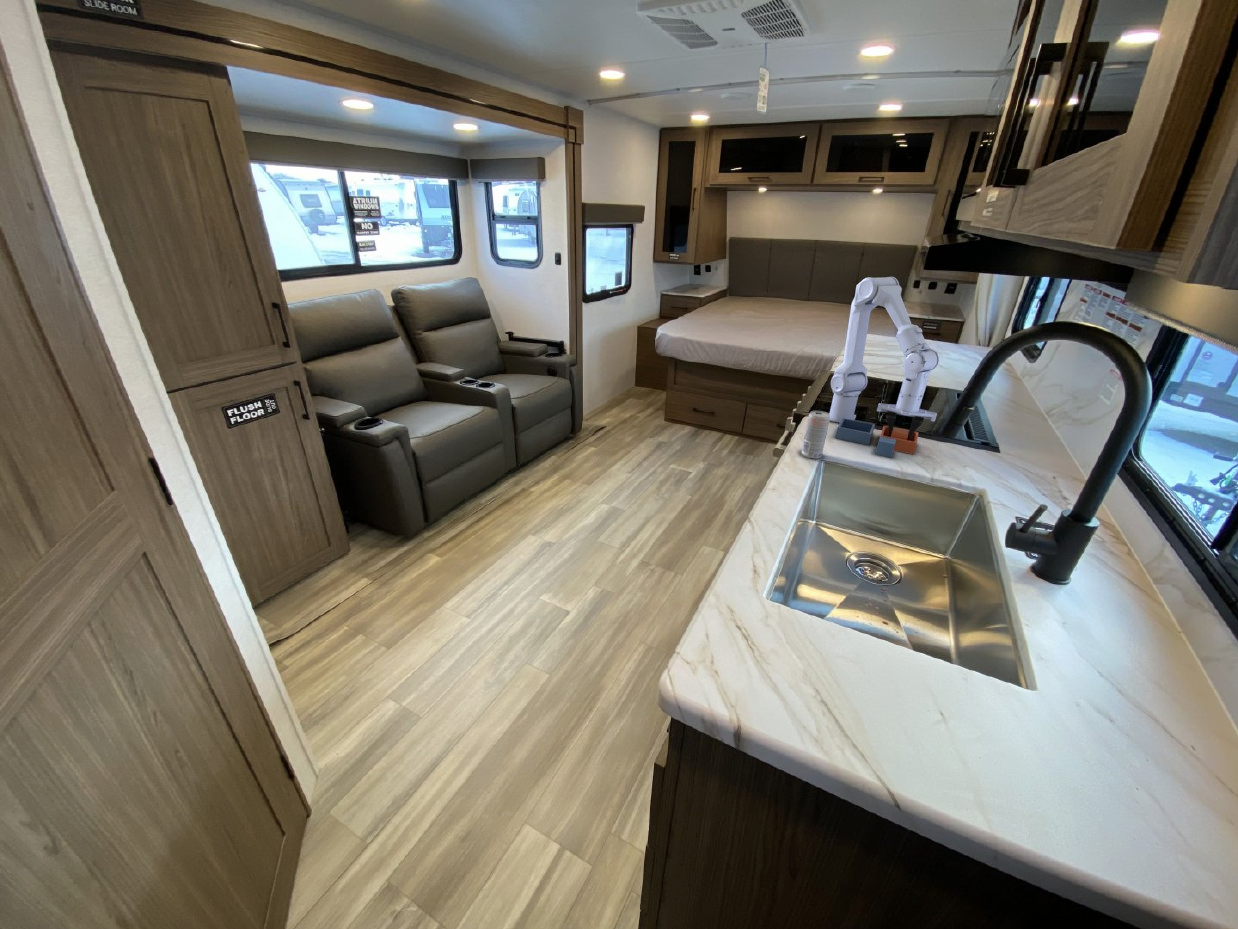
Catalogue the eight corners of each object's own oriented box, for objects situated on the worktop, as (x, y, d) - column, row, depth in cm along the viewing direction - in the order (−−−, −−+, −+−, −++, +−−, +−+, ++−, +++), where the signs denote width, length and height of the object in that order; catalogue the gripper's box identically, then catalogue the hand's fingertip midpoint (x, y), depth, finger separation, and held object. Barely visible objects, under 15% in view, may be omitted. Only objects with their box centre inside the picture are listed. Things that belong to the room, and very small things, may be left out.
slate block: (876, 449, 140) (880, 436, 138) (892, 452, 138) (896, 439, 136) (875, 454, 137) (878, 441, 135) (891, 457, 135) (894, 444, 133)
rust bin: (880, 436, 149) (883, 425, 147) (915, 443, 144) (918, 432, 143) (877, 446, 142) (880, 435, 140) (913, 454, 137) (916, 442, 136)
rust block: (890, 439, 145) (893, 427, 143) (905, 442, 143) (909, 429, 142) (888, 444, 142) (892, 431, 140) (904, 447, 140) (908, 434, 138)
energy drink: (818, 451, 138) (827, 410, 133) (823, 459, 133) (833, 418, 128) (799, 450, 138) (807, 409, 133) (803, 458, 134) (812, 416, 128)
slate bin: (840, 428, 154) (842, 417, 152) (872, 434, 150) (875, 424, 148) (835, 438, 147) (837, 427, 145) (868, 445, 143) (871, 433, 141)
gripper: (881, 392, 136) (869, 437, 142) (941, 402, 130) (926, 449, 136) (883, 386, 142) (872, 430, 148) (941, 395, 135) (927, 440, 141)
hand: (898, 438), depth 142 cm, fingers closed on rust block, 4 cm apart
